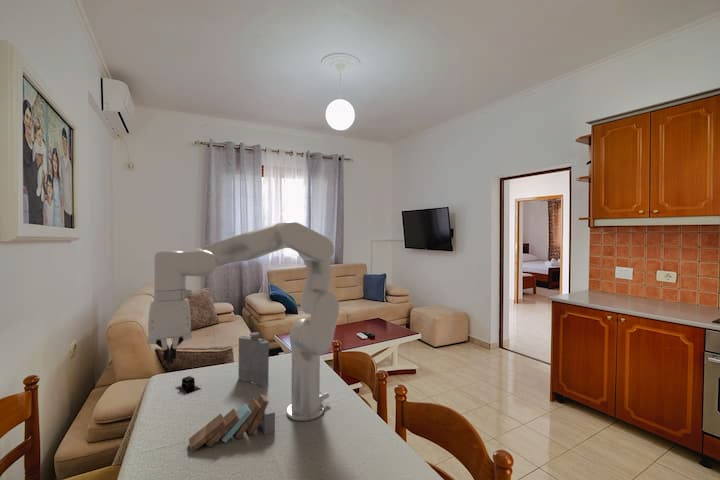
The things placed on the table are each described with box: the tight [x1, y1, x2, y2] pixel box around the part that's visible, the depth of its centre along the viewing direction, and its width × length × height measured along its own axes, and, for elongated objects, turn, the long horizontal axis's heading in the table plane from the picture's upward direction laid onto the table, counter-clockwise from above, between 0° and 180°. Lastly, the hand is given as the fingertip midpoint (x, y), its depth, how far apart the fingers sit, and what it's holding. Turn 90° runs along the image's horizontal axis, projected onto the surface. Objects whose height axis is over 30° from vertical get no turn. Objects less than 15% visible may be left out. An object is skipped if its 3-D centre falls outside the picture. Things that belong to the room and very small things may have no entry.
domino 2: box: [205, 408, 240, 448], centre depth 100 cm, size 2×5×10 cm
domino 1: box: [188, 413, 226, 453], centre depth 98 cm, size 2×5×10 cm
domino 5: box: [246, 393, 269, 436], centre depth 105 cm, size 2×5×10 cm, turn 31°
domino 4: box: [233, 397, 261, 439], centre depth 104 cm, size 2×5×10 cm
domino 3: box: [220, 402, 252, 444], centre depth 102 cm, size 2×5×10 cm
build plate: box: [175, 375, 202, 395], centre depth 134 cm, size 12×7×5 cm, turn 56°
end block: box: [258, 402, 276, 435], centre depth 107 cm, size 3×8×6 cm, turn 31°
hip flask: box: [238, 331, 270, 388], centre depth 141 cm, size 16×4×20 cm, turn 60°
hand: (169, 362), depth 93 cm, fingers closed
